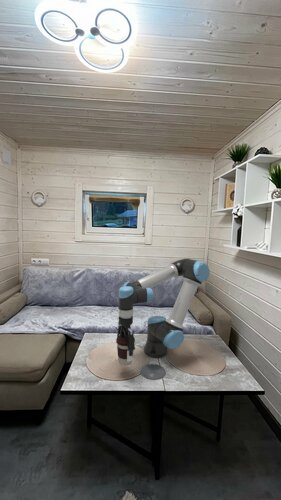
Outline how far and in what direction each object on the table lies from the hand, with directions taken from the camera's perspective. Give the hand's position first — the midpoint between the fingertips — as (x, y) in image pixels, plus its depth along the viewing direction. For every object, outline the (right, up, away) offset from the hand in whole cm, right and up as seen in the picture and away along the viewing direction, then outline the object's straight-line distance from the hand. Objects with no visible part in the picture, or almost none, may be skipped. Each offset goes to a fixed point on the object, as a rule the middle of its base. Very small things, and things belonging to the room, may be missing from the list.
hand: (125, 356), depth 134 cm
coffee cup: (0, -4, 0) cm, 4 cm away
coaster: (+15, -11, +5) cm, 19 cm away
